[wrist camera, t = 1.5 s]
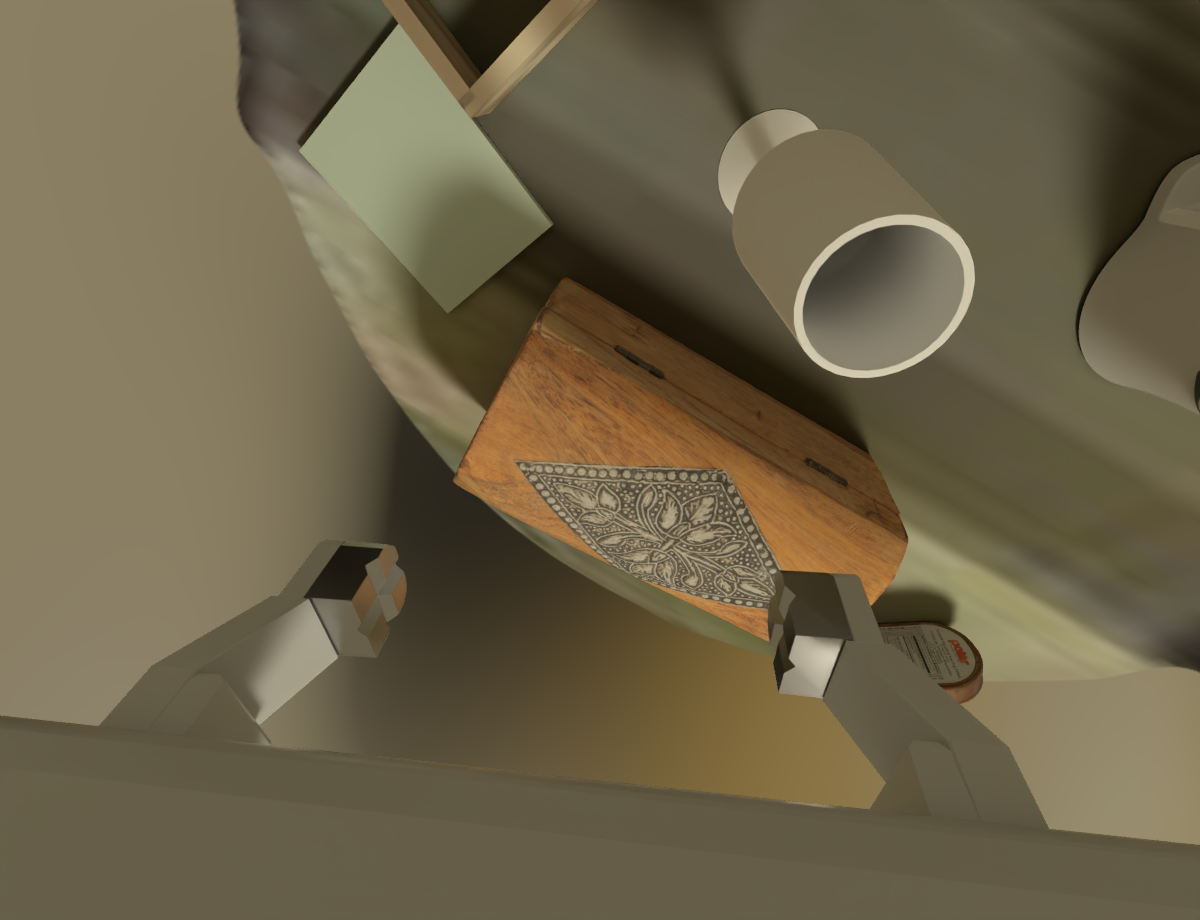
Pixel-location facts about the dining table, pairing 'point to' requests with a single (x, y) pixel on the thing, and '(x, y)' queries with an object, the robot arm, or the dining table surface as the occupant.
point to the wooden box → (674, 466)
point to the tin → (939, 655)
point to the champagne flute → (842, 245)
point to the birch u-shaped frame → (507, 70)
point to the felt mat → (424, 175)
